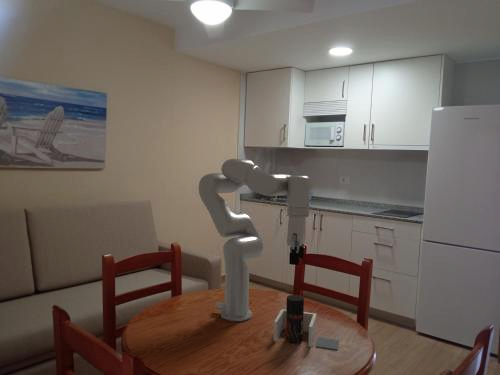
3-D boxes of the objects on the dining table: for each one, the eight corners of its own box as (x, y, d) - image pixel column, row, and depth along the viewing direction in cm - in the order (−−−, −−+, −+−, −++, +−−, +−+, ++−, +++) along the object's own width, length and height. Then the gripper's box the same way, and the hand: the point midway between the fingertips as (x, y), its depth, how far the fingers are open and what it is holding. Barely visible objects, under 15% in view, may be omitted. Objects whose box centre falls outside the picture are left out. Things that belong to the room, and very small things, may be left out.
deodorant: (302, 344, 133) (303, 301, 132) (284, 342, 134) (285, 299, 133) (303, 336, 139) (304, 295, 138) (286, 335, 140) (287, 294, 139)
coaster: (316, 347, 131) (316, 345, 131) (318, 338, 138) (318, 337, 138) (337, 350, 129) (337, 349, 129) (338, 341, 136) (338, 340, 136)
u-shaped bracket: (273, 341, 135) (274, 321, 135) (281, 327, 147) (281, 309, 146) (311, 347, 131) (311, 326, 131) (316, 332, 143) (316, 313, 142)
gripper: (291, 208, 143) (290, 254, 144) (281, 214, 126) (280, 266, 128) (312, 209, 141) (311, 256, 142) (305, 215, 124) (303, 268, 125)
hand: (296, 261), depth 135 cm, fingers open, 9 cm apart
